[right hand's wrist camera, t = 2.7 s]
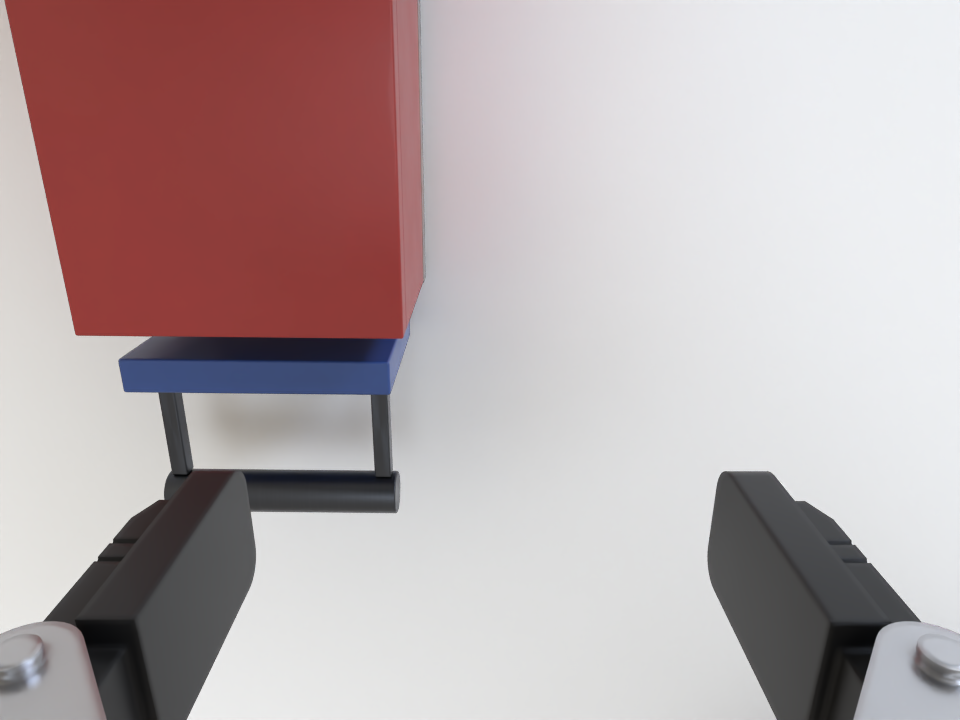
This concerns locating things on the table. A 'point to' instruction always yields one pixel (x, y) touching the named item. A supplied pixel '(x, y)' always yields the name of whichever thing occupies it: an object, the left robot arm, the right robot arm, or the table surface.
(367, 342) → the drawer
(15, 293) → the table surface
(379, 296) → the cabinet
